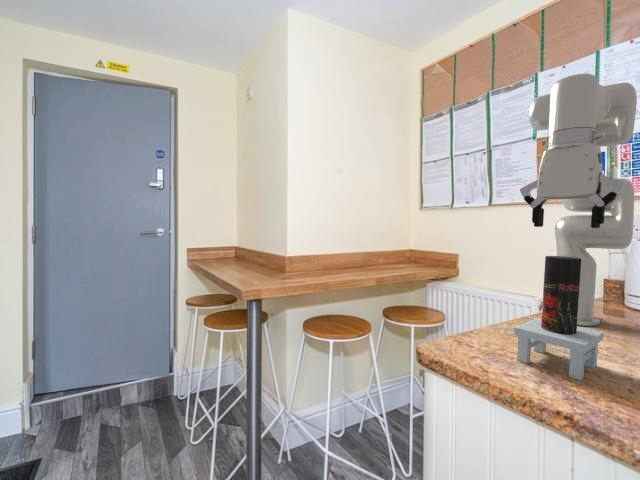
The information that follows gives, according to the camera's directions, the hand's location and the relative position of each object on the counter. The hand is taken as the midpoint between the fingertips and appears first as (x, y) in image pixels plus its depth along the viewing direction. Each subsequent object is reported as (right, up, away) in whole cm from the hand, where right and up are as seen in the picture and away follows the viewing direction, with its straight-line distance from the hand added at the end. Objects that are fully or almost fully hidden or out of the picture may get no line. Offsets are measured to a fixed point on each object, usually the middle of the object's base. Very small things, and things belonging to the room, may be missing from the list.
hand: (565, 227), depth 67 cm
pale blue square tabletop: (-1, -28, +1) cm, 28 cm away
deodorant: (-1, -21, +1) cm, 21 cm away
